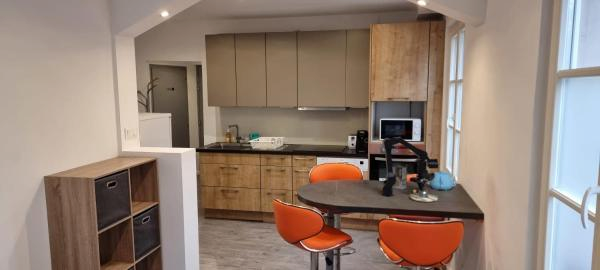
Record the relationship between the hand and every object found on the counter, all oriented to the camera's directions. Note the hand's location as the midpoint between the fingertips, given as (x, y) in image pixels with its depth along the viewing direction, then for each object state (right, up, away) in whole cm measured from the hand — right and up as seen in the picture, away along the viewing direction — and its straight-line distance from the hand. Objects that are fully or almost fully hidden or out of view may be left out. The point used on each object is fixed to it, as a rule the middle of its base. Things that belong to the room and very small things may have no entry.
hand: (421, 190), depth 275 cm
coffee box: (-9, -1, +24) cm, 26 cm away
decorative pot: (+21, -2, +21) cm, 30 cm away
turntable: (-1, -4, -8) cm, 10 cm away
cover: (-1, -3, -9) cm, 10 cm away
